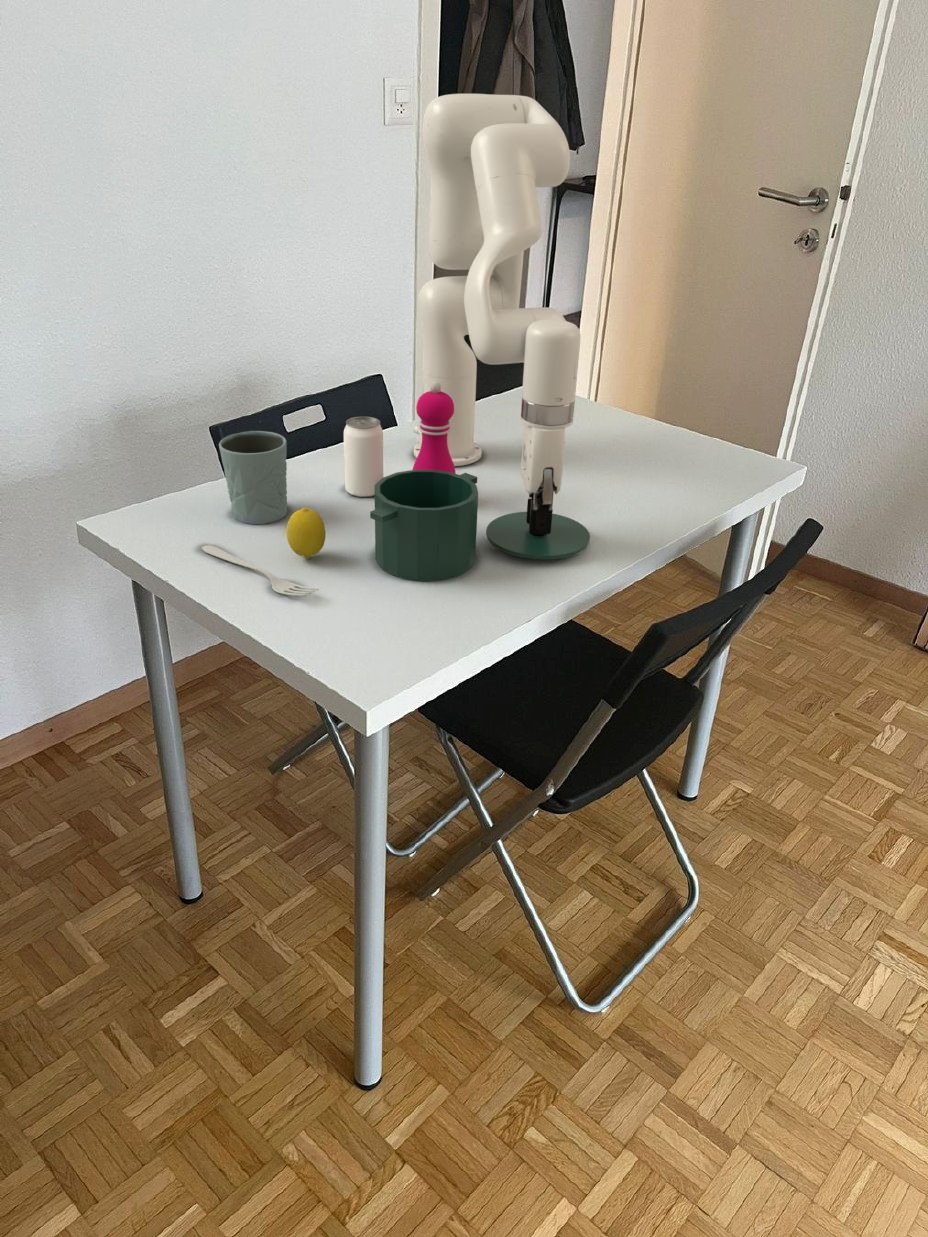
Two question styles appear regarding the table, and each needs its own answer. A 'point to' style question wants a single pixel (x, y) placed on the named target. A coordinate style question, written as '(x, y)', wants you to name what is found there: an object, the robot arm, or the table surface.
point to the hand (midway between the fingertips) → (538, 527)
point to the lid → (537, 536)
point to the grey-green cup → (256, 475)
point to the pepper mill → (434, 430)
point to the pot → (425, 524)
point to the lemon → (306, 532)
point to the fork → (277, 583)
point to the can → (363, 455)
